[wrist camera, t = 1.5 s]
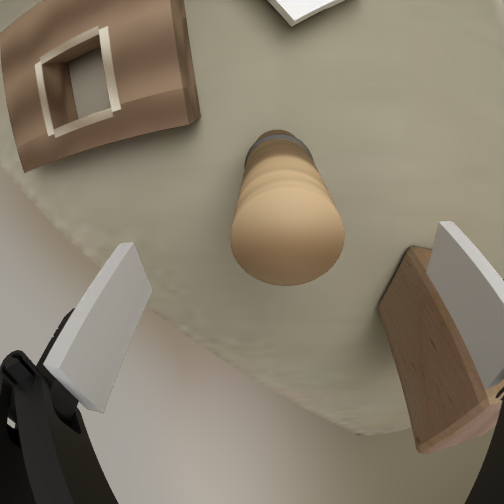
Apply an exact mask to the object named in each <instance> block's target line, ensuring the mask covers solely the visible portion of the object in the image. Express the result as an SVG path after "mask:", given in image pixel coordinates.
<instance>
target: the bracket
mask: <svg viewBox="0 0 504 504" xmlns="http://www.w3.org/2000/svg"><path fill="white" fill-rule="evenodd" d="M343 1H345V0H268V2H269V3H270V4H271V5H272V6H273V7H274V8H275V9H276V10H277V11H278V12H279V13H280V14H281V15H282V17H283V18H284V19H285V20H286V21H287V22H288V23H289V24H290V26H291V27H292V26H294V25H296V24H297V23H299V22H301V21H303V20H305V19H307V18H308V17H310V16H312V15H314V14H316V13H318V12H320V11H322V10H324V9H328V8H330V7H332V6H334V5H336V4H338V3H341V2H343Z"/></svg>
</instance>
